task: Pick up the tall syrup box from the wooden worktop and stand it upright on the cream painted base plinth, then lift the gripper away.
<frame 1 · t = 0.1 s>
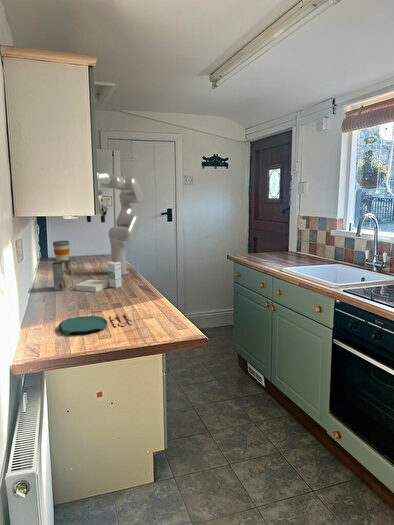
hand: (96, 222, 250), 37 cm above the worktop, tool pointing down, fingers open, 9 cm apart
reusable coffee cup: (62, 260, 332), on the worktop
coffee box: (63, 288, 240), on the worktop
syrup box: (115, 286, 243), on the worktop
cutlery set: (95, 326, 176), on the worktop
base plinth: (92, 288, 240), on the worktop
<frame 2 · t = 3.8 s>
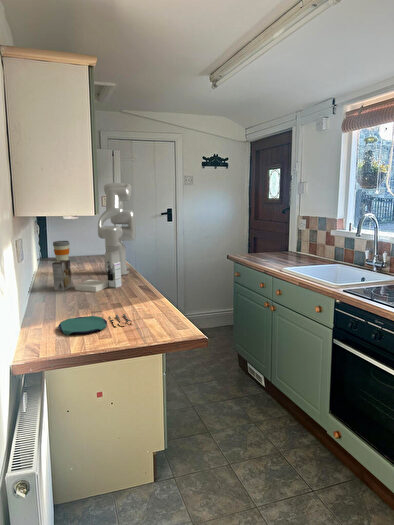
hand: (113, 278, 242), 5 cm above the worktop, tool pointing down, fingers closed on syrup box, 6 cm apart
syrup box: (115, 286, 243), on the worktop, touching gripper
everything else where it was.
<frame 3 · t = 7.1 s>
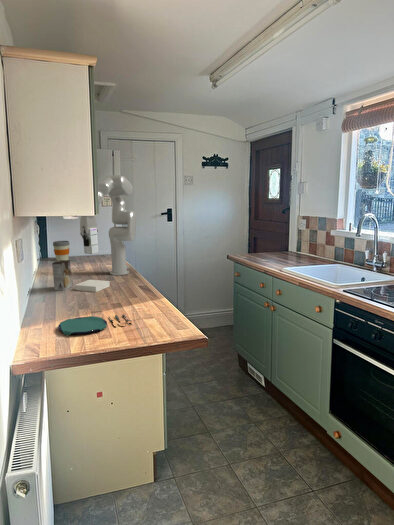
hand: (90, 245, 235), 25 cm above the worktop, tool pointing down, fingers closed on syrup box, 6 cm apart
syrup box: (91, 253, 236), point 20 cm above the worktop, touching gripper
everything else where it was.
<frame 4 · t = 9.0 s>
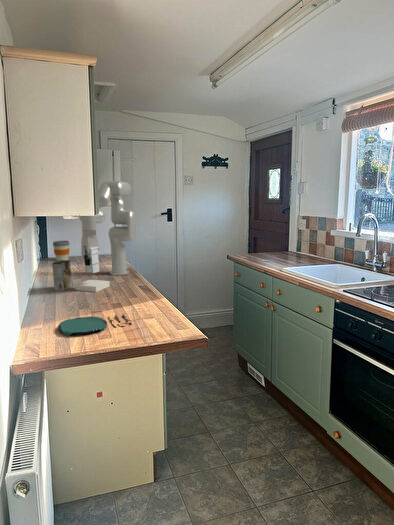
hand: (91, 264, 237), 14 cm above the worktop, tool pointing down, fingers closed on syrup box, 6 cm apart
syrup box: (92, 272, 238), point 9 cm above the worktop, touching gripper
everything else where it was.
when the fingers open (8 cm above the worktop, at t = 10.7 s): syrup box stays where it is, resting on base plinth.
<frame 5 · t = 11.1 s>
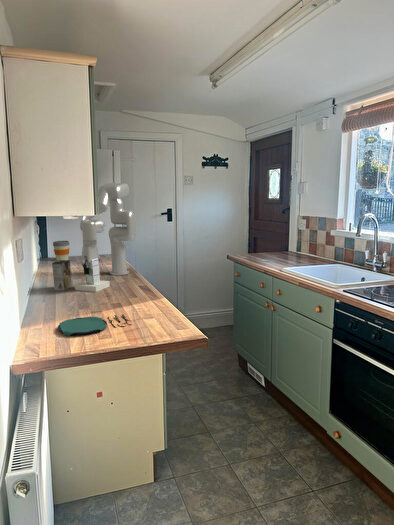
hand: (91, 272, 238), 9 cm above the worktop, tool pointing down, fingers open, 9 cm apart
syrup box: (93, 283, 239), point 3 cm above the worktop, touching base plinth
everything else where it was.
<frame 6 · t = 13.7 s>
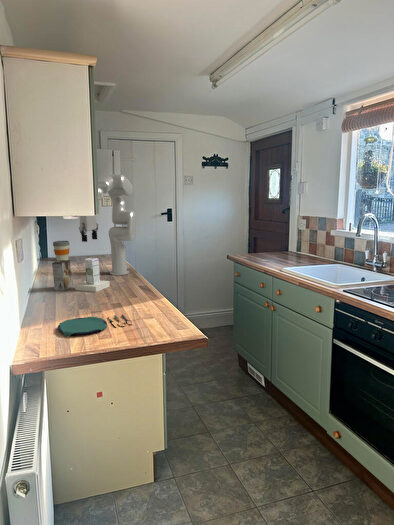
hand: (89, 240, 235), 28 cm above the worktop, tool pointing down, fingers open, 9 cm apart
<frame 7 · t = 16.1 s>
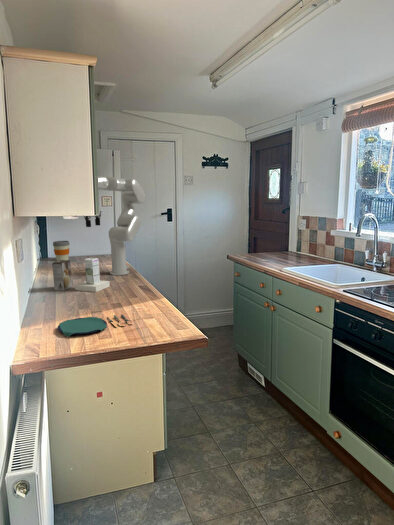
hand: (93, 226, 251), 34 cm above the worktop, tool pointing down, fingers open, 9 cm apart
at the end: syrup box inside the target area on the base plinth (0.6 cm from its centre), point 2.8 cm above the base plinth's base; syrup box tilted 0°; the gripper is holding nothing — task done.
